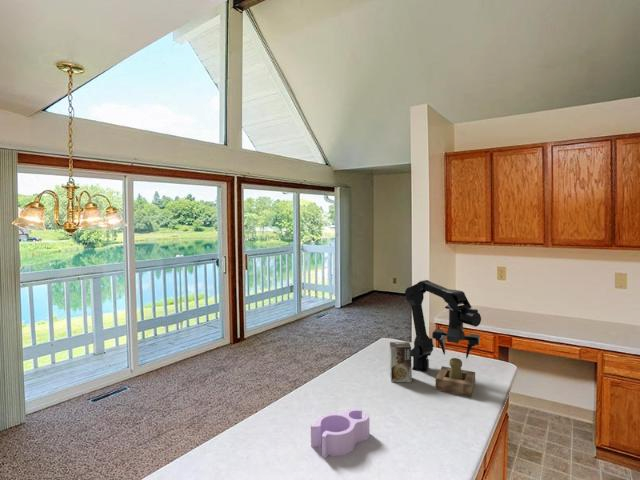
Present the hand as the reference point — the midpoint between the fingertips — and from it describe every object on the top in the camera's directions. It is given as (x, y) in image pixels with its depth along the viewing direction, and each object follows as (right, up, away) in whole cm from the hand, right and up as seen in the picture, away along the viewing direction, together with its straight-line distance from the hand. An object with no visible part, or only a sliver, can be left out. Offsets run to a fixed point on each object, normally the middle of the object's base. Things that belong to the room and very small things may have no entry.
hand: (455, 356), depth 159 cm
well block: (0, -13, -1) cm, 13 cm away
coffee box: (-22, -13, +7) cm, 27 cm away
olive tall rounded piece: (0, -12, -1) cm, 12 cm away
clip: (-51, -16, -37) cm, 65 cm away
